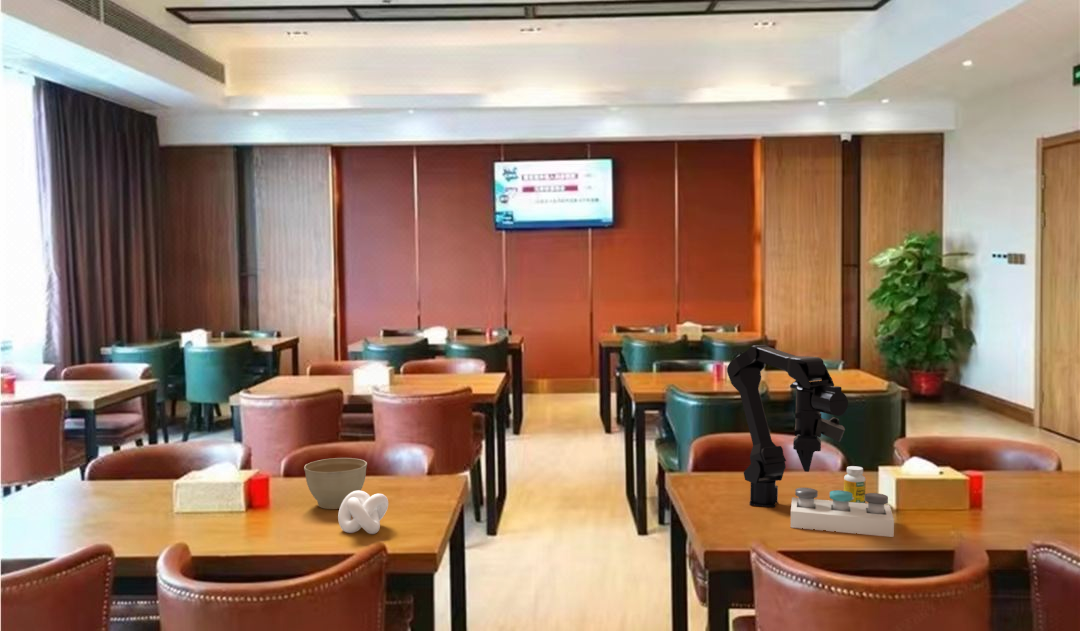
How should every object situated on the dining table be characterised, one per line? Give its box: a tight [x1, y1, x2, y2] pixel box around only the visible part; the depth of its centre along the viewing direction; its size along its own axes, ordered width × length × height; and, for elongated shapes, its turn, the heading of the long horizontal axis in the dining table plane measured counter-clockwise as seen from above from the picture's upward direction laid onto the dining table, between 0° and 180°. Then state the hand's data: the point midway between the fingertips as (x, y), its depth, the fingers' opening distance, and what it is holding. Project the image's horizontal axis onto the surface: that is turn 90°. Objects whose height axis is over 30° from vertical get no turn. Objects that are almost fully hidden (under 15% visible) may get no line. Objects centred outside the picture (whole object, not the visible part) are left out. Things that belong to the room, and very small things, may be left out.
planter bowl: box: [303, 457, 368, 510], centre depth 222 cm, size 16×16×11 cm
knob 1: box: [795, 487, 819, 509], centre depth 205 cm, size 5×5×5 cm
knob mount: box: [790, 496, 895, 538], centre depth 203 cm, size 23×12×4 cm, turn 72°
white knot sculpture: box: [337, 490, 389, 535], centre depth 200 cm, size 11×12×9 cm
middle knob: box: [829, 489, 852, 511], centre depth 203 cm, size 5×5×5 cm
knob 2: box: [865, 492, 889, 515], centre depth 200 cm, size 5×5×5 cm
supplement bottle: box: [843, 465, 867, 503], centre depth 220 cm, size 5×5×10 cm
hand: (806, 471), depth 205 cm, fingers closed
